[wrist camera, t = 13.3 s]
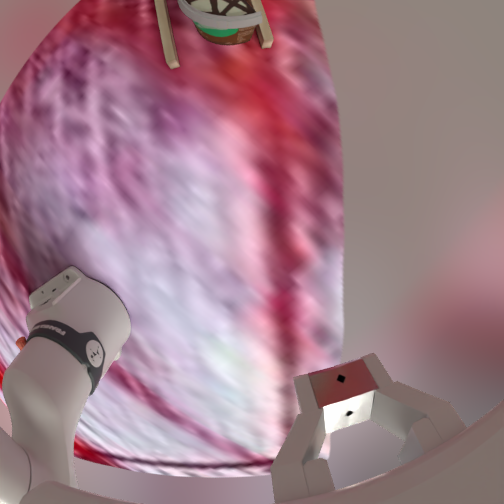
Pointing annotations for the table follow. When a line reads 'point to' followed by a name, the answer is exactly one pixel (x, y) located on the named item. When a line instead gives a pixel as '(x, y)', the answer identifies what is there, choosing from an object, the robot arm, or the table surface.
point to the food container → (222, 19)
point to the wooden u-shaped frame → (168, 39)
